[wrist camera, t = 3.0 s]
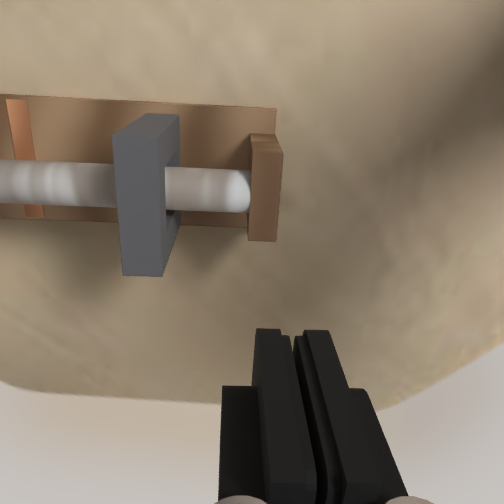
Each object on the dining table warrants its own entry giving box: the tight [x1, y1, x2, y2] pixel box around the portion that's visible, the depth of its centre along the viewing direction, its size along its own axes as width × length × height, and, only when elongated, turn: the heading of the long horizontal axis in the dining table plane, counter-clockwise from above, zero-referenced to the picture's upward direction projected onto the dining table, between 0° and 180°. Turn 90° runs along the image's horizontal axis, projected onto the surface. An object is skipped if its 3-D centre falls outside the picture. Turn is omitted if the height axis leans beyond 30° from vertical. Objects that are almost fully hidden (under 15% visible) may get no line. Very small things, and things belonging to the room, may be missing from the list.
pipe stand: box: [0, 94, 283, 242], centre depth 26 cm, size 22×8×7 cm, turn 87°
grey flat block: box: [112, 113, 181, 277], centre depth 24 cm, size 2×7×8 cm, turn 177°
